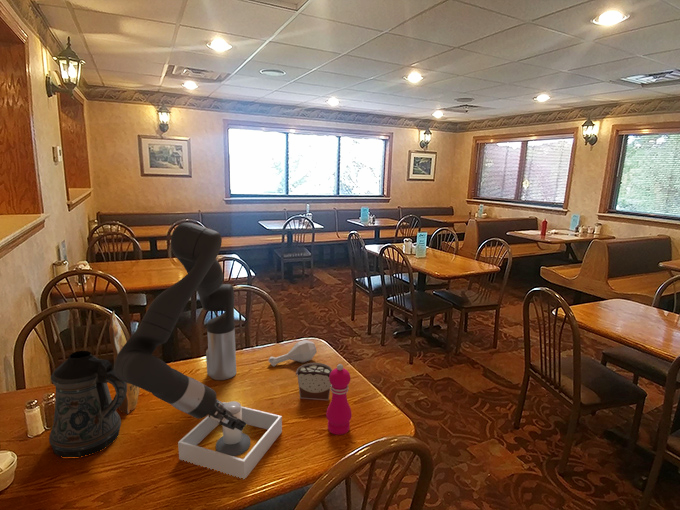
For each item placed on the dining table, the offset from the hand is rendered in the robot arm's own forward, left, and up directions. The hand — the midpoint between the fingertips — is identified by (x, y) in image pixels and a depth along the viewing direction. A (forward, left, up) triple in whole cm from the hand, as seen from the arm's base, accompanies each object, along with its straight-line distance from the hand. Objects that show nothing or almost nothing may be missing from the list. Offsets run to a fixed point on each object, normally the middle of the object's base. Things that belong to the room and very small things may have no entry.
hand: (238, 421), depth 110 cm
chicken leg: (-7, +47, -7) cm, 48 cm away
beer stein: (-38, -13, -7) cm, 40 cm away
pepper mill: (+23, +15, -6) cm, 29 cm away
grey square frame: (-1, -2, -6) cm, 7 cm away
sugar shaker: (-1, -2, -4) cm, 5 cm away
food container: (+10, +29, -7) cm, 32 cm away
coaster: (-1, -2, -6) cm, 7 cm away
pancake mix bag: (-44, +4, -6) cm, 45 cm away
